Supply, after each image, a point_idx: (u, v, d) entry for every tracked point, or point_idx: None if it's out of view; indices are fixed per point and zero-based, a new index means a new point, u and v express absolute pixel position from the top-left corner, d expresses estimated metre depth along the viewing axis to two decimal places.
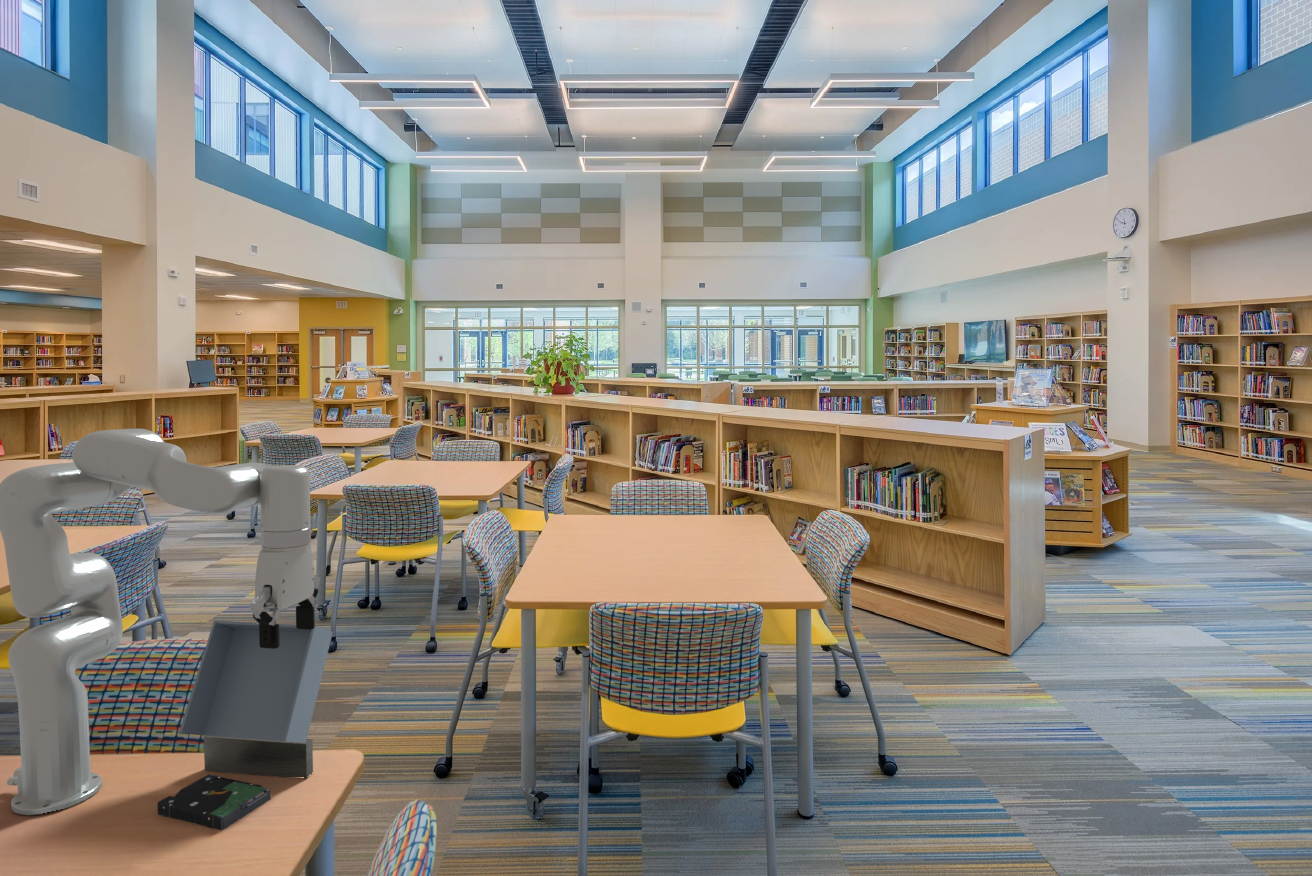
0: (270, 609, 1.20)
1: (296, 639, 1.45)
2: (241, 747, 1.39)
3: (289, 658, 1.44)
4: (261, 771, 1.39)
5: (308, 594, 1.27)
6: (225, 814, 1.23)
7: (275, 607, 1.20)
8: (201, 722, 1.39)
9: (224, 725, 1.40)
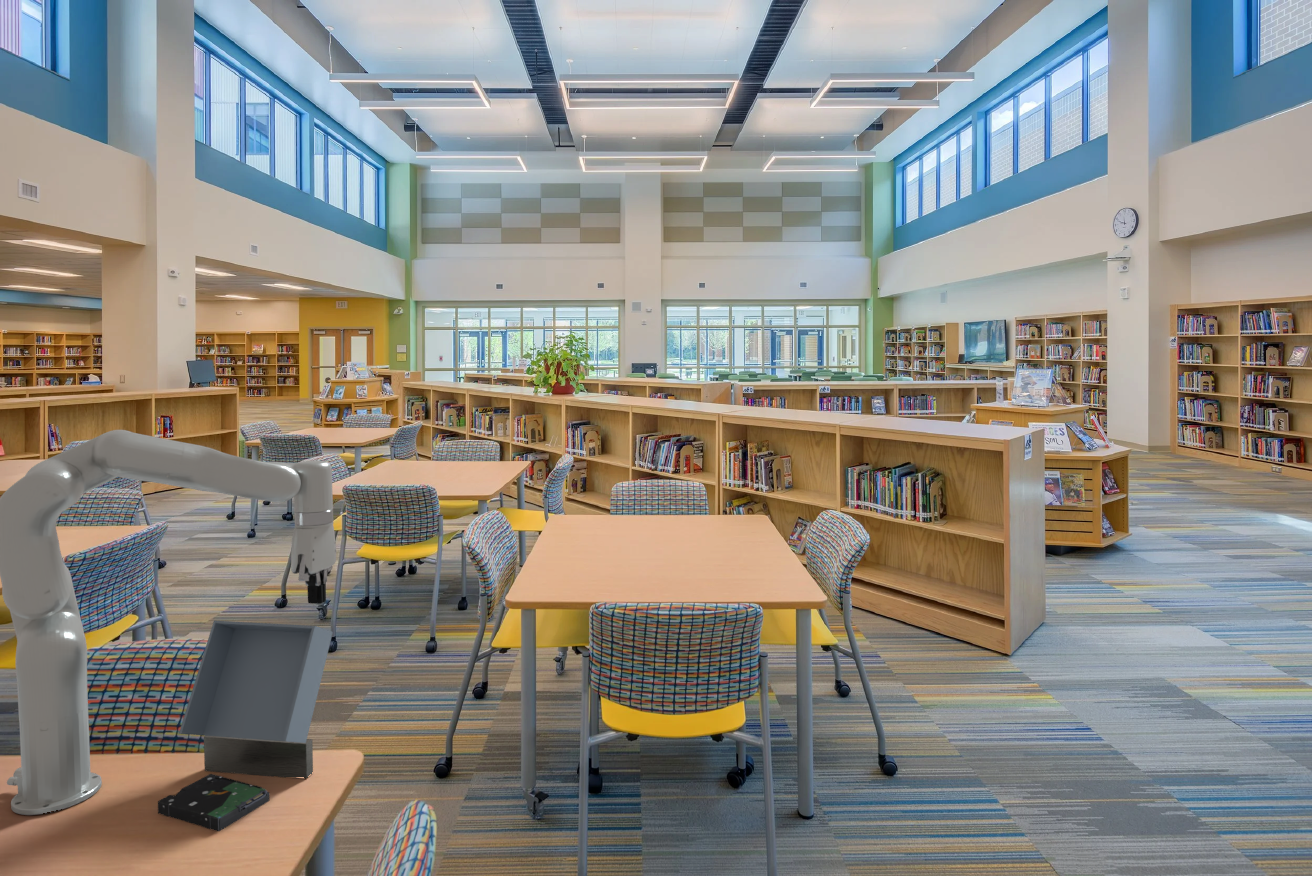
0: None
1: (296, 639, 1.45)
2: (241, 747, 1.39)
3: (289, 658, 1.44)
4: (261, 771, 1.39)
5: (331, 562, 1.60)
6: (222, 815, 1.23)
7: (314, 574, 1.55)
8: (201, 722, 1.39)
9: (224, 725, 1.40)
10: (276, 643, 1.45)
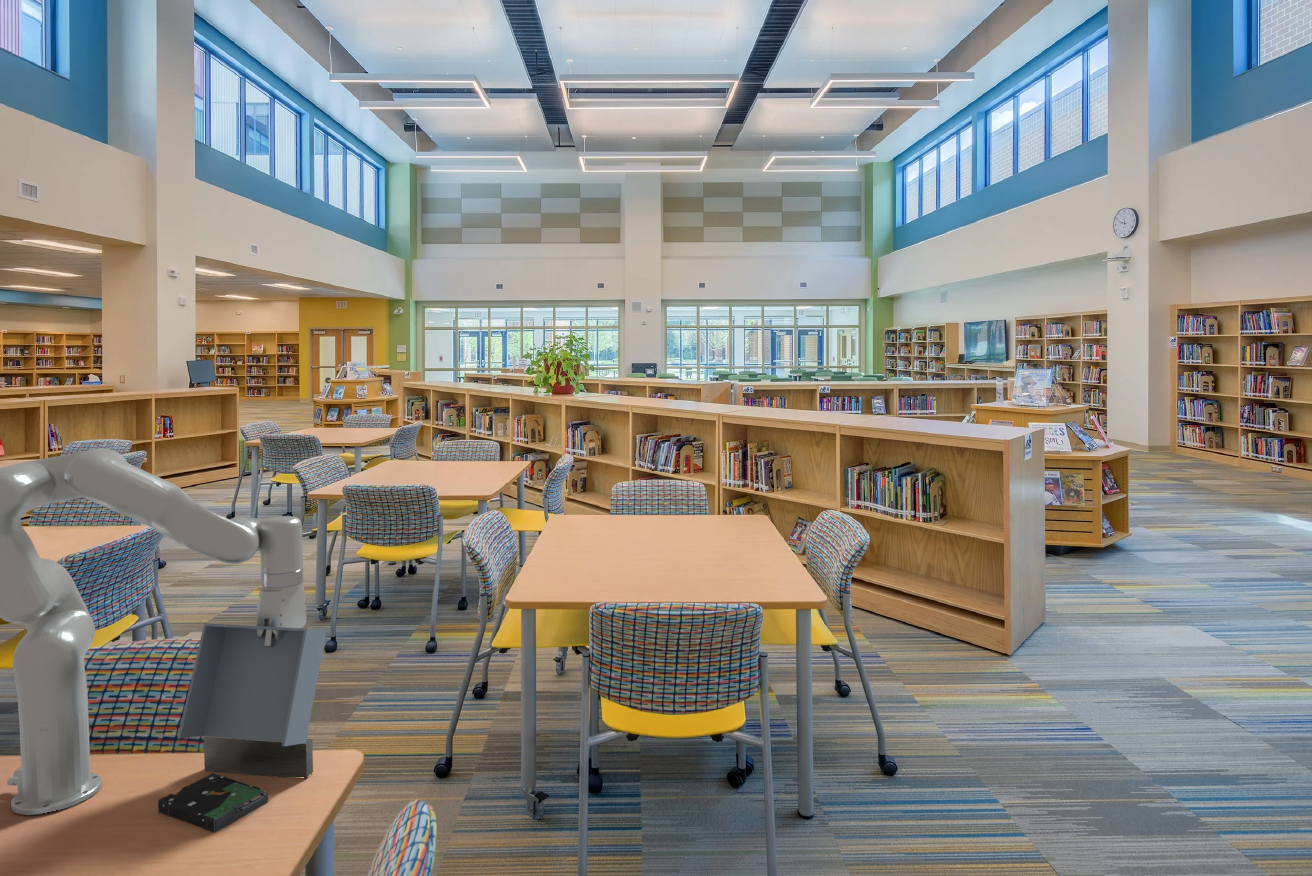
0: None
1: (290, 638, 1.43)
2: (241, 747, 1.39)
3: (284, 658, 1.42)
4: (261, 771, 1.39)
5: (301, 624, 1.50)
6: (218, 816, 1.22)
7: None
8: (199, 723, 1.38)
9: (223, 726, 1.39)
10: None
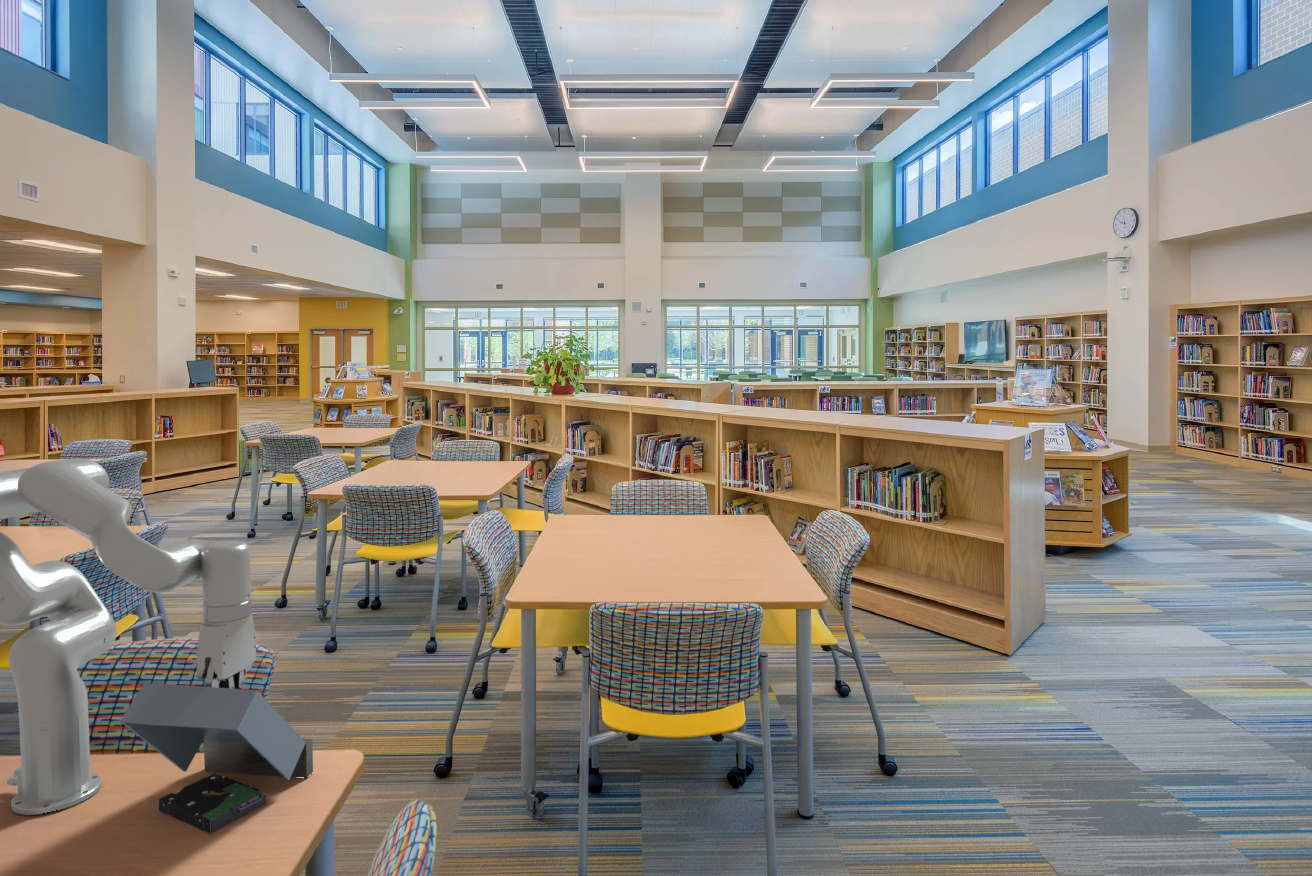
0: None
1: None
2: (241, 747, 1.39)
3: None
4: (261, 771, 1.39)
5: (250, 662, 1.34)
6: (215, 817, 1.22)
7: (226, 679, 1.30)
8: (192, 742, 1.37)
9: (216, 736, 1.38)
10: None
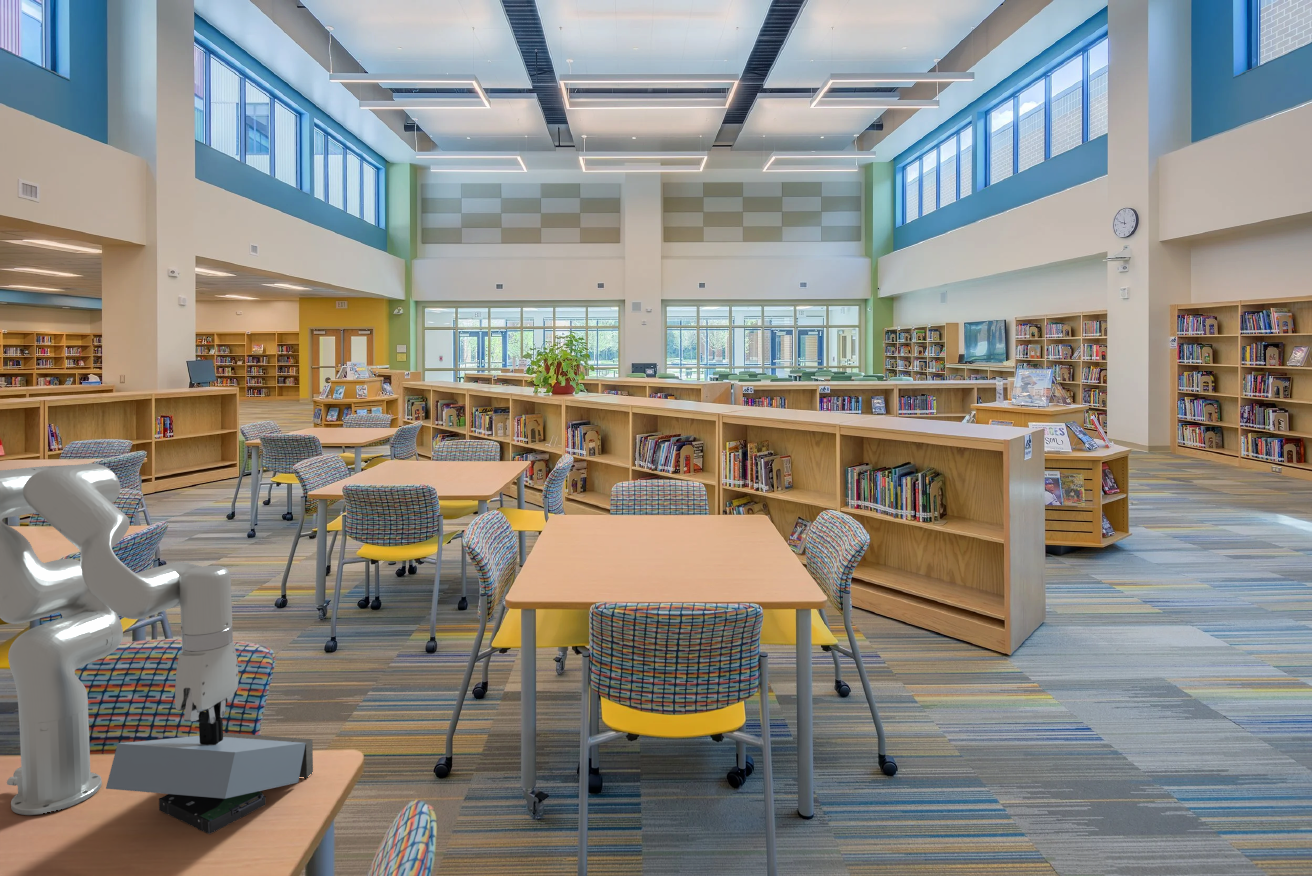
0: None
1: None
2: None
3: None
4: None
5: (231, 690, 1.29)
6: (213, 817, 1.22)
7: (206, 710, 1.25)
8: None
9: None
10: None
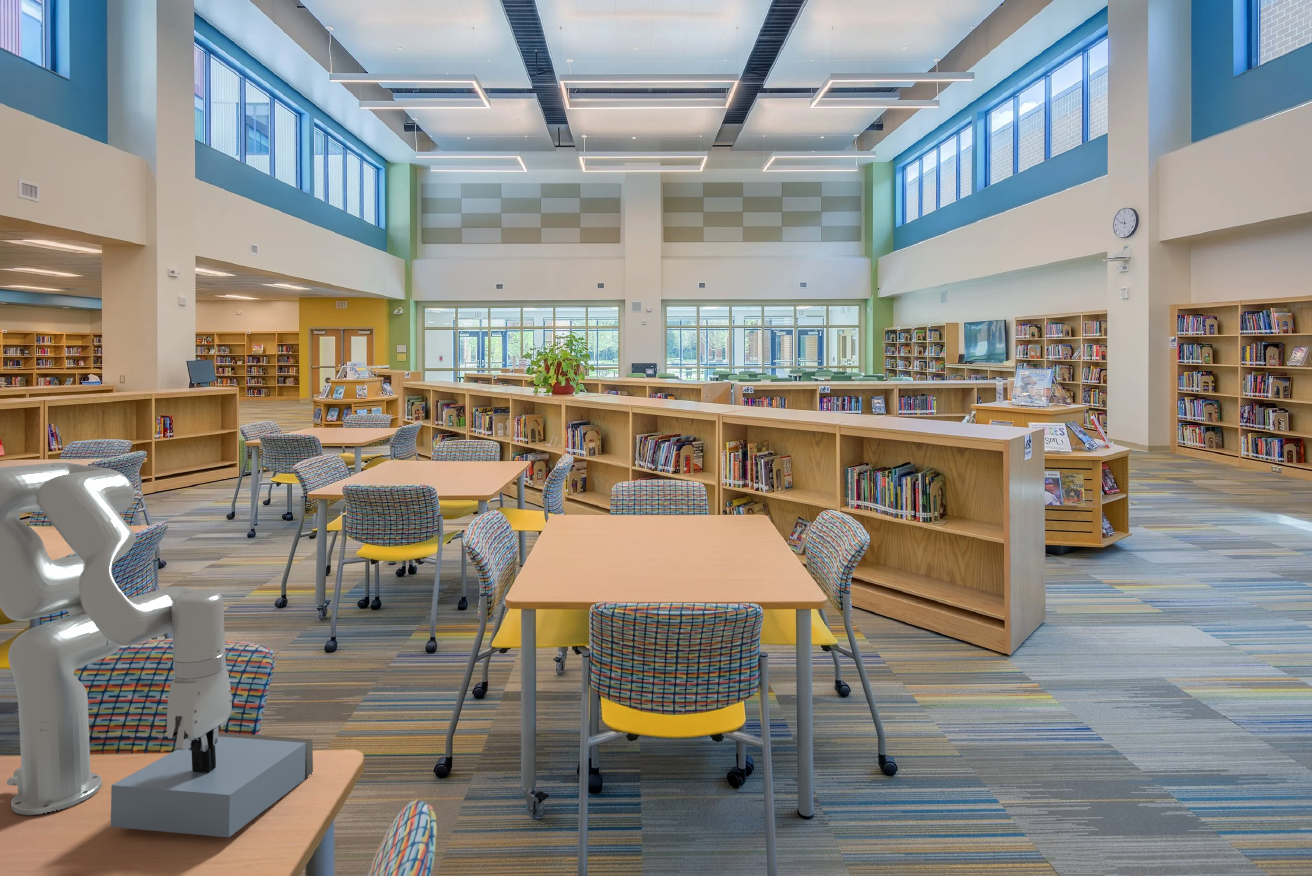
0: None
1: None
2: None
3: None
4: None
5: (224, 717, 1.27)
6: None
7: (198, 738, 1.23)
8: None
9: None
10: None
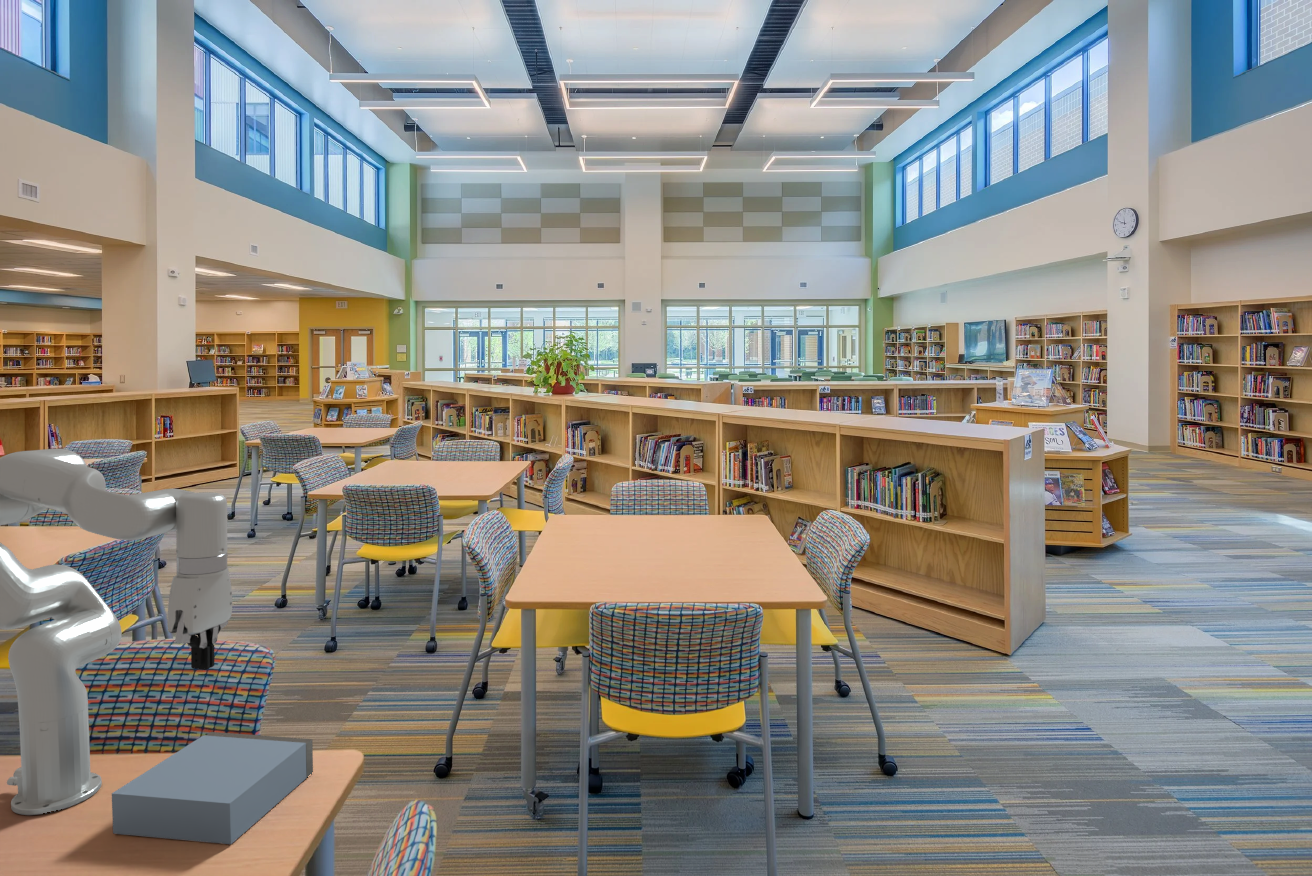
0: (195, 633, 1.26)
1: None
2: None
3: None
4: None
5: (224, 618, 1.30)
6: None
7: (198, 634, 1.25)
8: None
9: None
10: None
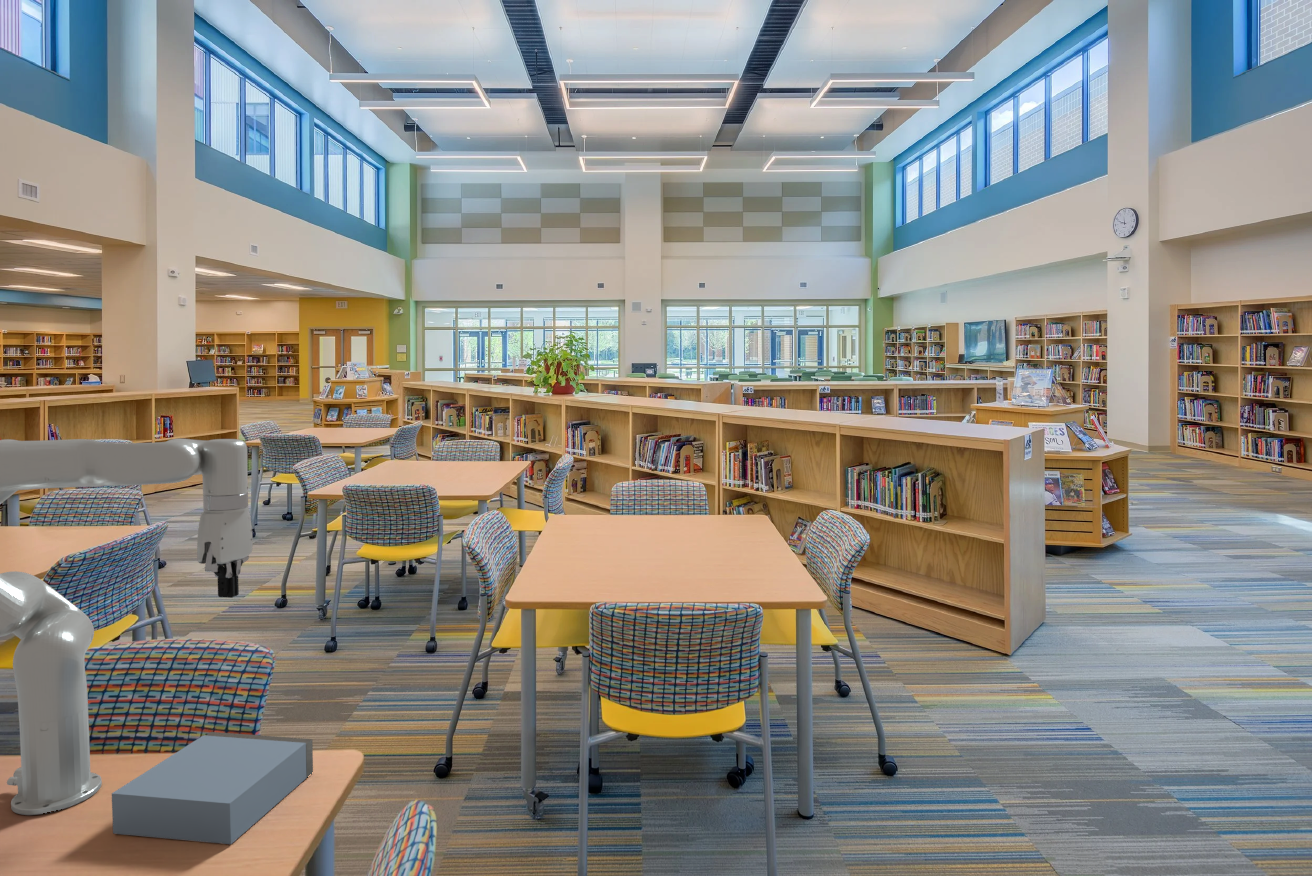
0: None
1: None
2: None
3: None
4: None
5: (246, 552, 1.45)
6: None
7: (224, 565, 1.40)
8: None
9: None
10: None
